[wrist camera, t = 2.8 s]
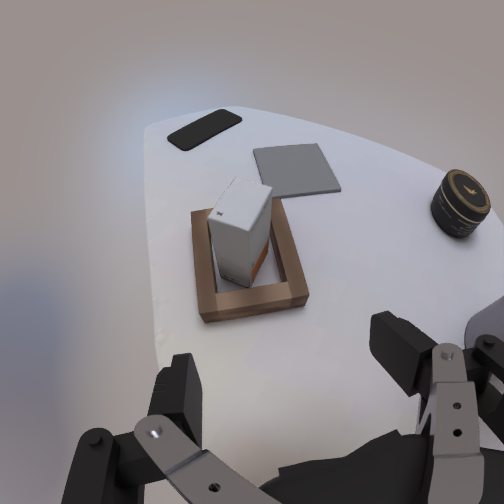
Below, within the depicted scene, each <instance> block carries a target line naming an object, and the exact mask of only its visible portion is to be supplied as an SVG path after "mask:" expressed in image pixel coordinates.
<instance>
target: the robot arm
mask: <svg viewBox="0 0 504 504" xmlns="http://www.w3.org/2000/svg"><path fill="white" fill-rule="evenodd" d="M465 345H466V349H464V350H461V348H460V347H458V346H457V345H454V344H451V343H442V344H437V343H436V342H435V341H434V340H432V339H431V338H430V337H429V336H427V335H426V334H425V333H423V332H421V330H420V329H418V328H417V327H415V326H414V325H413V324H412V323H410V322H409V321H407V320H404V319H402V318H397V317H396V316H394V315H393V314H392V313H391V312H389V311H384V312H381V313H377V314H374V315H372V317H371V326H370V341H369V346H370V351H371V353H372V355H373V356H374V357H375V359H376V360H377V361H378V362H379V363H380V364H381V365H382V367H383V368H384V369H385V370H386V371H387V372H388V373H389V375H390V376H391V377H392V378H393V379H394V380H395V381H396V383H397V384H398V385H399V386H400V387H401V388H402V389H403V391H404V392H405V393H406V394H407V395H408V396H409V397H411V396H413V395H415V394H417V393H420V395H421V396H420V399H419V407H418V416H417V424H416V431H415V434H409V435H402V436H401V435H400V433H399V432H398V430H397V429H396V430H394V431H391V432H389V433H387V434H385V435H382V436H380V437H378V438H375V439H373V440H371V441H369V442H368V443H366V444H365V445H363V446H362V447H360V448H358V449H357V450H355V451H354V452H352V453H350V454H349V455H347V456H345V457H341V458H333V459H324V460H312V461H307V462H303V463H299V464H295V465H290V466H286V467H281V468H278V470H279V476H278V477H276V478H273V479H271V480H270V481H268V482H266V483H265V484H263V485H262V486H260V487H259V488H257V487H256V486H254V485H253V484H251V483H250V482H249V481H247V480H246V479H245V478H243V477H242V476H240V475H239V474H238V473H236V472H235V471H234V470H233V469H231V468H230V467H229V466H227V465H226V464H225V463H224V462H222V461H221V460H220V459H219V458H218V457H216V456H215V455H214V454H213V453H211V452H210V451H209V450H207V449H205V450H202V386H201V381H200V378H199V375H198V372H197V369H196V366H195V362H194V359H193V356H192V354H191V353H185V354H177V355H173V359H172V363H171V367H164V368H163V369H162V370H161V371H160V372H159V374H158V375H157V378H156V382H155V386H154V389H153V393H152V398H151V402H150V406H149V410H148V415H147V417H145V418H143V419H141V420H140V421H139V422H138V423H137V425H136V426H135V428H134V431H132V432H129V433H125V434H121V435H116V436H113V435H112V434H111V433H110V432H109V431H108V430H106V429H104V428H93V429H90V430H88V431H87V432H85V433H84V434H83V435H82V436H81V438H80V440H79V442H78V445H77V448H76V452H75V455H74V458H73V461H72V465H71V468H70V472H69V475H68V479H67V483H66V486H65V490H64V494H63V498H62V502H61V504H144V489H145V484H148V483H152V482H156V481H160V480H164V479H167V480H168V482H169V483H170V484H171V485H172V486H173V487H174V488H175V489H176V491H177V492H178V493H179V494H180V495H181V496H182V497H183V498H184V499H185V500H186V501H187V502H188V503H189V504H504V451H500V450H494V449H488V448H482V447H480V443H479V421H478V415H479V416H480V418H481V419H482V420H483V421H484V422H485V423H486V424H487V426H488V427H489V428H490V429H491V430H492V431H493V432H494V434H495V435H496V436H497V437H498V438H499V440H500V441H501V442H502V443H503V444H504V394H503V395H502V394H501V393H500V392H499V391H498V390H497V389H496V388H495V387H494V386H493V385H492V384H491V383H489V380H490V378H491V375H492V373H493V374H494V375H495V376H496V377H497V378H499V379H500V380H501V381H502V382H503V384H504V296H503V297H501V298H500V299H498V300H497V301H495V302H494V303H492V304H491V305H489V306H488V307H486V308H485V309H483V310H482V311H480V312H478V313H477V314H475V315H474V316H473V317H472V318H471V319H470V321H469V323H468V325H467V328H466V333H465Z"/></svg>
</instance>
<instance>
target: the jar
mask: <svg viewBox="0 0 504 504" xmlns="http://www.w3.org/2000/svg"><path fill="white" fill-rule="evenodd" d="M490 208H491V205H490V200H489V197H488V195H487V193H486V191H485V190H484V188H483V187H482V186H481V184H480V183H479V182H478V181H477V180H476V179H475V178H473V177H472V176H471V175H469V174H468V173H466V172H464V171H461V170H457V169H454V170H451V171H449V172H448V173H447V174H446V176H445V177H444V179H443V180H442V182H441V185H440V186H439V188H438V190H437V191H436V193H435V195H434V197H433V201H432V213H433V216H434V218H435V220H436V222H437V223H438V225H439V226H440V227H441V228H442V229H443V230H444V231H445V232H446V233H448V234H449V235H451V236H454V237H459V238H462V237H466V236H467V235H469V234H471V233H472V232H473V231H474V230H475V229H476V228H477V226H478V225H479V224H480V223H481V222H482V221H483V220H484V219H485V217H486V216H487V215H488V213H489V211H490Z"/></svg>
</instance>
